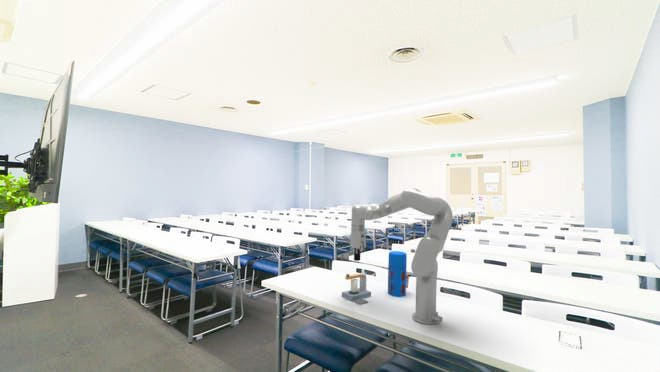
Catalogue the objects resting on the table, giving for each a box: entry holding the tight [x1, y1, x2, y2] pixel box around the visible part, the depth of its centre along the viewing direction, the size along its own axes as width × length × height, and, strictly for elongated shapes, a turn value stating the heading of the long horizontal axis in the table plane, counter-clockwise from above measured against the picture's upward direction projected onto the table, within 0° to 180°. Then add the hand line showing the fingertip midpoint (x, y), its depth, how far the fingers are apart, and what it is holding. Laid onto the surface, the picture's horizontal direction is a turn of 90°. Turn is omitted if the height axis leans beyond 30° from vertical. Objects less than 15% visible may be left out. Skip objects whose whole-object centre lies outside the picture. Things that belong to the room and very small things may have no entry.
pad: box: [352, 298, 369, 306], centre depth 163 cm, size 6×6×1 cm
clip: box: [345, 272, 367, 280], centre depth 172 cm, size 15×3×3 cm, turn 126°
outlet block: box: [341, 275, 372, 302], centre depth 172 cm, size 9×15×11 cm, turn 126°
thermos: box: [387, 250, 408, 298], centre depth 179 cm, size 11×11×25 cm
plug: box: [349, 278, 359, 295], centre depth 171 cm, size 5×5×10 cm
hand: (357, 260), depth 165 cm, fingers closed
